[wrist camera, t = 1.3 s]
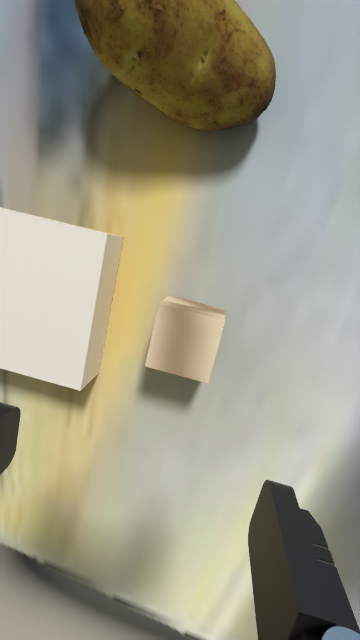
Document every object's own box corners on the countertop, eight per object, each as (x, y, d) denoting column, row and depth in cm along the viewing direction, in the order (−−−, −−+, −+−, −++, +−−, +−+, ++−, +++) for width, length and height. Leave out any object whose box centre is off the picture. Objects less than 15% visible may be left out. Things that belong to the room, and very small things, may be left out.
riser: (123, 236, 27) (107, 234, 23) (98, 373, 30) (80, 390, 26) (-25, 201, 28) (-65, 192, 24) (-35, 336, 31) (-72, 348, 27)
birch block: (224, 309, 27) (225, 320, 22) (210, 361, 28) (208, 383, 23) (169, 295, 28) (158, 304, 23) (157, 347, 29) (144, 366, 24)
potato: (202, 184, 25) (194, 153, 17) (90, 61, 24) (30, -29, 17) (283, 100, 23) (315, 23, 16) (165, -37, 22) (136, -190, 15)
